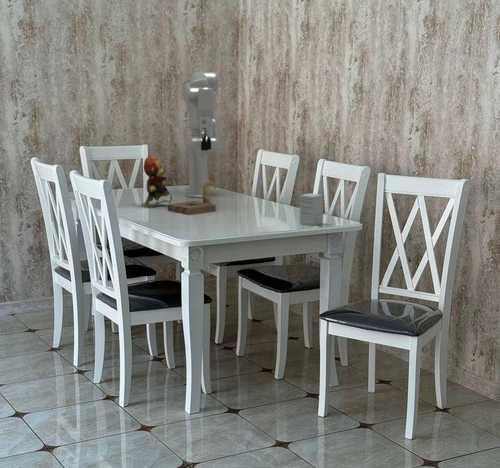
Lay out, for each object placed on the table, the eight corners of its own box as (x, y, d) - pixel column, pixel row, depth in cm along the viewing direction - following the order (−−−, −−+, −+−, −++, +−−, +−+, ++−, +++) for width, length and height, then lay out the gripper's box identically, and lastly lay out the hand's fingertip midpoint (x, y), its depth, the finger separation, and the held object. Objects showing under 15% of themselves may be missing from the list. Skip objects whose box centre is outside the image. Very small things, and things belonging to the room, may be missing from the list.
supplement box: (309, 221, 360) (309, 193, 357) (323, 223, 355) (323, 194, 353) (299, 223, 354) (299, 194, 352) (313, 225, 350) (313, 196, 347)
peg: (201, 207, 397) (201, 182, 395) (207, 206, 400) (207, 182, 397) (206, 208, 395) (206, 183, 392) (212, 207, 397) (211, 182, 395)
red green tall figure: (151, 206, 389) (142, 154, 389) (137, 210, 403) (129, 160, 403) (179, 202, 396) (171, 151, 396) (165, 206, 411) (157, 157, 411)
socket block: (167, 210, 387) (167, 204, 386) (193, 207, 398) (193, 201, 397) (189, 214, 376) (189, 208, 375) (215, 211, 387) (215, 204, 386)
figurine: (213, 201, 416) (213, 178, 414) (217, 203, 410) (217, 179, 408) (197, 202, 413) (197, 178, 411) (200, 204, 408) (200, 180, 405)
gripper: (210, 113, 382) (211, 150, 385) (216, 113, 399) (216, 149, 402) (194, 113, 383) (195, 150, 386) (201, 113, 400) (201, 149, 403)
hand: (206, 149), depth 394 cm, fingers open, 9 cm apart
